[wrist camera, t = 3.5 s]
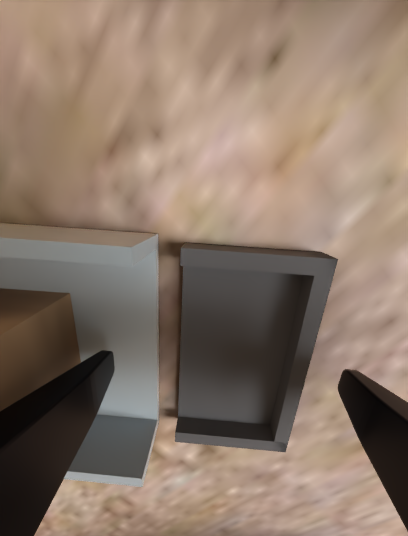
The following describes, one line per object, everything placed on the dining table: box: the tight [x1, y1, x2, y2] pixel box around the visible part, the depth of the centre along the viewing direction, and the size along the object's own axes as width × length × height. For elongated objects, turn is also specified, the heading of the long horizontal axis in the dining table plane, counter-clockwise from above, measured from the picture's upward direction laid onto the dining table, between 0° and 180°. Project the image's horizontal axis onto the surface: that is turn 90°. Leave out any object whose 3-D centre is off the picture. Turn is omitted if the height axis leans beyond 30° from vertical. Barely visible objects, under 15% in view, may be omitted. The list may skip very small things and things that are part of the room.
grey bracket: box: [0, 223, 159, 487], centre depth 8 cm, size 11×10×2 cm
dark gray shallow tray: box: [175, 243, 338, 452], centre depth 8 cm, size 5×9×1 cm, turn 176°
